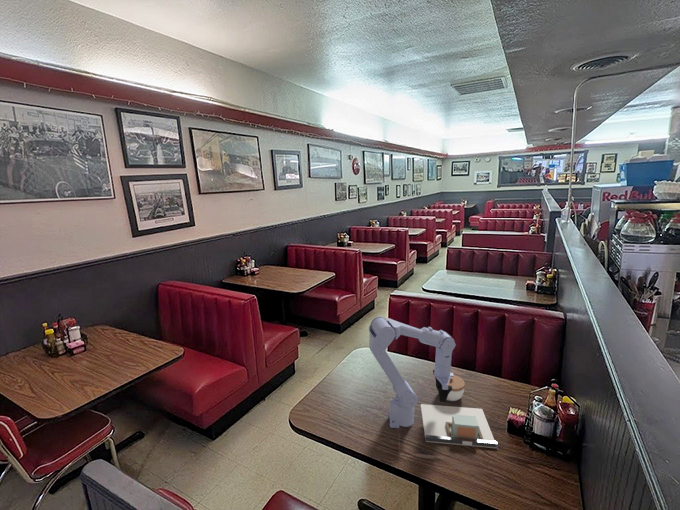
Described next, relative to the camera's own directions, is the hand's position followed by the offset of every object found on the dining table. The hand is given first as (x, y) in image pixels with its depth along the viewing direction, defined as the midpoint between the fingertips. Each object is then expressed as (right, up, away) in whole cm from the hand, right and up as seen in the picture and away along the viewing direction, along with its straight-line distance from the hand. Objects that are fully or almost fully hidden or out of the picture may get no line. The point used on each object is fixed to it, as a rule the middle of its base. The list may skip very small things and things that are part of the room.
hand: (441, 394), depth 129 cm
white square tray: (+4, -10, -3) cm, 12 cm away
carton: (+6, -11, -9) cm, 15 cm away
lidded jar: (+8, -7, +13) cm, 17 cm away
